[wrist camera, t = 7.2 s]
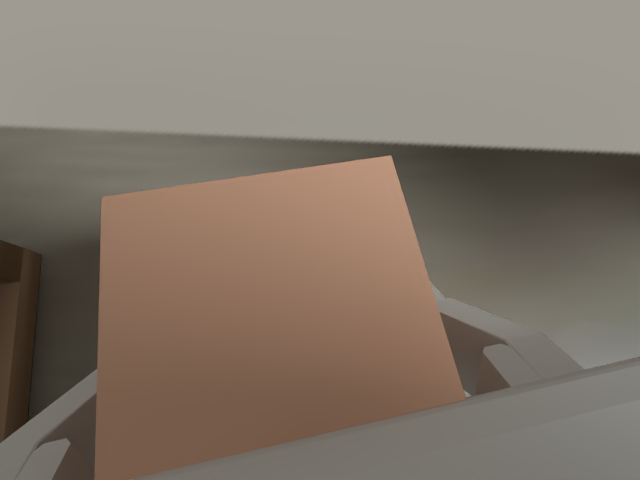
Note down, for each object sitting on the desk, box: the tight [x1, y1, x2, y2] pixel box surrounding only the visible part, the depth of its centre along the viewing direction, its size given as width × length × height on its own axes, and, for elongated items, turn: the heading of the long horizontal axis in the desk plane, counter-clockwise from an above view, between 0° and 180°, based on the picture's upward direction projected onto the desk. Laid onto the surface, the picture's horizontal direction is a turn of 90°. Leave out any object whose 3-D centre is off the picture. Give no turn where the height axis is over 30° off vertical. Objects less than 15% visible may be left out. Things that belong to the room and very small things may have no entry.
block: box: [94, 155, 466, 480], centre depth 9 cm, size 5×5×10 cm
